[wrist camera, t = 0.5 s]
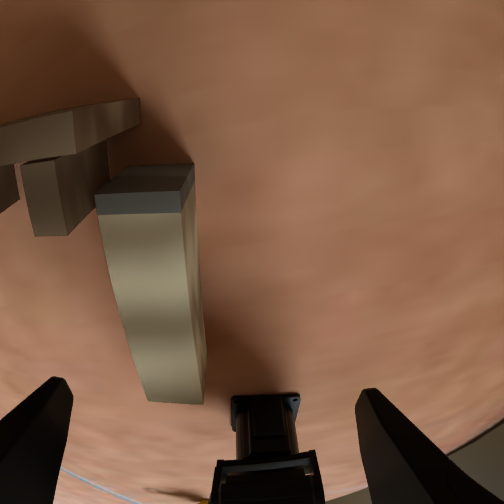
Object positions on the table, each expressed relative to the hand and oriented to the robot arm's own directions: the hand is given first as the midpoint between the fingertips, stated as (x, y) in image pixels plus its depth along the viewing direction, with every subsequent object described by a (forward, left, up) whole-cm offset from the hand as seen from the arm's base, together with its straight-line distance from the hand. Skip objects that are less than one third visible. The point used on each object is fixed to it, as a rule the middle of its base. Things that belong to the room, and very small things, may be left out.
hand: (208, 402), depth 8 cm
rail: (-4, +4, -13) cm, 14 cm away
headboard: (+5, +12, -13) cm, 18 cm away
